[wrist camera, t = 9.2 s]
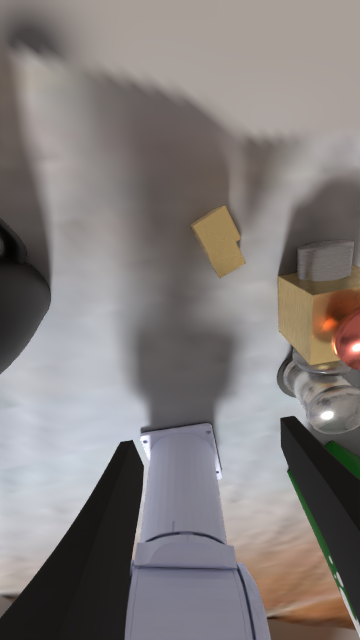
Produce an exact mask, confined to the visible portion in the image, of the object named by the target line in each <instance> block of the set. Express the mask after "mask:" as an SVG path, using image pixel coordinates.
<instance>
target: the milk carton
mask: <svg viewBox="0 0 360 640" xmlns="http://www.w3.org/2000/svg"><path fill="white" fill-rule="evenodd" d="M324 447H325V448H326V449H327V450H328V451H329V452H330V453H331V454H332V455H334V456H335V457H336V458H337V459H338V460H339V461H340V462H341V463H342V464H343V465H344V466H345V467H346V468H347V469H349V470H350V471H351V472H352V473H353V474H354V475H355V476H356V477H358V478H359V479H360V458H359V457H358V456H356V455H354V454H353V453H351V452H350V451H348V450H346V449H345V448H343V447H342V446H340V445H338V444H337V443H335V442H333V441H331V442H330V443H328V444H327V445H325V446H324ZM287 472H288V475H289V477H290V479H291V481H292V484H293V486H294V488H295V491H296V493H297V495H298V497H299V500H300V502H301V504H302V507H303V509H304V511H305V513H306V516H307V518H308V520H309V522H310V524H311V527H312V529H313V531H314V533H315V536H316V538H317V540H318V543H319V545H320V547H321V549H322V552H323V554H324V556H325V559H326V561H327V563H328V566H329V568H330V570H331V572H332V575H333V577H334V579H335V582H336V584H337V586H338V588H339V591H340V593H341V595H342V598H343V600H344V602H345V605H346V607H347V609H348V611H349V614H350V616H351V618H352V621H353V623H354V625H355V628H356V630H357V632H358V634H359V637H360V625H359V622H358V620H357V617H356V615H355V612H354V610H353V607H352V605H351V603H350V600H349V598H348V595H347V593H346V590H345V588H344V585H343V583H342V580H341V578H340V575H339V573H338V571H337V568H336V566H335V563H334V561H333V559H332V556H331V554H330V551H329V549H328V547H327V545H326V542H325V540H324V538H323V536H322V534H321V532H320V530H319V528H318V526H317V524H316V522H315V520H314V518H313V516H312V514H311V512H310V510H309V508H308V506H307V504H306V502H305V499H304V497H303V495H302V493H301V491H300V489H299V487H298V485H297V483H296V481H295V479H294V477H293V475H292V473H291V471H290V470H289V471H287Z"/></svg>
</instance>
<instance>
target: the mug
mask: <svg viewBox="0 0 360 640" xmlns="http://www.w3.org/2000/svg"><path fill="white" fill-rule="evenodd" d="M0 242H1V250H0V374H1V373H2V372H3V371H4V370H5V369H7V368H8V367H9V366H10V365H11V363H12V362H13V361H14V360H15V359H16V358H17V357H18V356H19V355H20V353H21V352H22V351H23V349H24V348H25V347H26V346H27V344H28V343H29V341H30V340H31V338H32V337H33V335H34V333H35V332H36V330H37V328H38V326H39V325H40V323H41V321H42V319H43V317H44V315H45V314H46V313H47V311H48V309H49V306H50V302H51V296H50V291H49V287H48V285H47V283H46V281H45V279H44V278H43V276H42V275H41V274H40V273H39V271H37V270H36V269H35V268H34V267H33V266H32V265H30V264H29V263H27V262H25V261H26V257H27V251H26V247H25V245H24V243H23V242H22V241H21V239H20V238H19V237H18V235H17V234H16V233H15V232H14V231H13V230H12V229H11V228H10V227H9V226H8V225H7V224H6V223H5V222H4V221H3V220H2V219H1V218H0Z"/></svg>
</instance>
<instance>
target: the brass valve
mask: <svg viewBox="0 0 360 640" xmlns="http://www.w3.org/2000/svg"><path fill="white" fill-rule="evenodd" d="M353 248H354V241H351V240H329V241H320V242H314V243H309V244H305V245H302V246H300V247H298V248H297V272H296V273H291V274H286V275H281V276H278V307H279V332H280V333H281V334H282V335H283V336H284V337H285V338H286V339H287V340H288V342H289V343H290V344H291V345H292V346H293V347H294V348H293V353H292V358H293V361H294V363H295V364H296V365H297V366H298V367H299V368H300V369H302V370H304V371H306V372H308V373H311V374H314V375H319V376H328V377H332V376H340V375H344V374H346V373H348V372H350V371H351V370H352V368H353V369H357V370H360V267H358V266H354V265H352V257H353Z"/></svg>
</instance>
